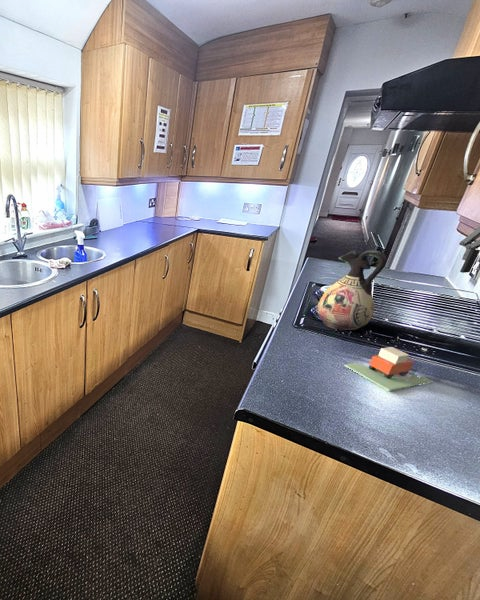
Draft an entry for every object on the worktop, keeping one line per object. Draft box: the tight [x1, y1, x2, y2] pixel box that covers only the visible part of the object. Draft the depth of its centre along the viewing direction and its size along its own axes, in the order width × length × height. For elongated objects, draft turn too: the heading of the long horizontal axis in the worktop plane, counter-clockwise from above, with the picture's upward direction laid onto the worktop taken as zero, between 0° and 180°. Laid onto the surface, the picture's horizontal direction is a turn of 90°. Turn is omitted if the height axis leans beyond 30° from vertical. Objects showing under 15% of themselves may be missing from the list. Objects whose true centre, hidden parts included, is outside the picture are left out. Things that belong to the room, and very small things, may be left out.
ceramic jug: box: [317, 249, 387, 331], centre depth 112 cm, size 17×15×30 cm
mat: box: [343, 362, 433, 392], centre depth 92 cm, size 16×12×1 cm
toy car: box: [368, 346, 414, 379], centre depth 91 cm, size 8×5×7 cm, turn 104°
